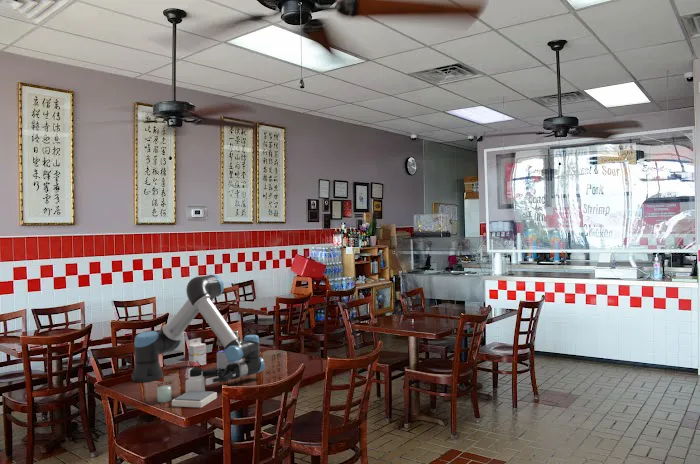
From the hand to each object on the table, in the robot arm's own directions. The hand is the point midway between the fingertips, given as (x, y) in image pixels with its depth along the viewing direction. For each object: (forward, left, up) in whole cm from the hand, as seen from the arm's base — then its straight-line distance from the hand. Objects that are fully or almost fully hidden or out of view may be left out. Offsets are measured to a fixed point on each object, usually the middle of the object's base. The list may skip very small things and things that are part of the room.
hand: (197, 379), depth 253 cm
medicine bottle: (-1, -1, -7) cm, 7 cm away
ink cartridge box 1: (-29, +51, -7) cm, 59 cm away
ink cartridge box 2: (-2, +34, -7) cm, 35 cm away
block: (-10, -12, -7) cm, 17 cm away
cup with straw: (-6, +54, -7) cm, 55 cm away
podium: (+5, -12, -6) cm, 14 cm away
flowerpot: (-19, +71, -7) cm, 74 cm away
